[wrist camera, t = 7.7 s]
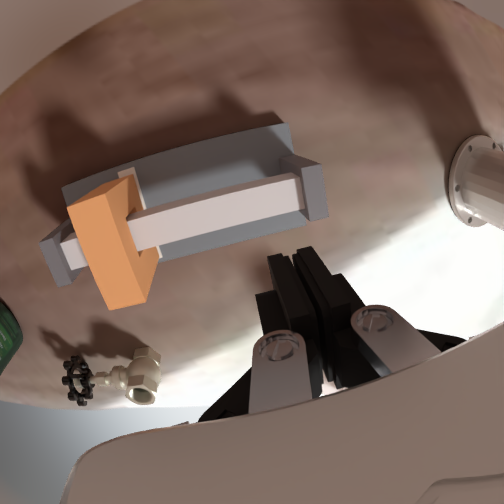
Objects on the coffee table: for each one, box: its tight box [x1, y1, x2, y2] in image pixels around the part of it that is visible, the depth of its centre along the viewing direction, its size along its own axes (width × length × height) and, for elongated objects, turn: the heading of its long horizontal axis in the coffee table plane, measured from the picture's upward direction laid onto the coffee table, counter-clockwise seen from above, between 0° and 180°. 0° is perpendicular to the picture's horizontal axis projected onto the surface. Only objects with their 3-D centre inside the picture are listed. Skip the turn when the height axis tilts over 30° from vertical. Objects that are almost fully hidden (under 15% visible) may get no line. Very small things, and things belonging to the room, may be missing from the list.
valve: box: [62, 347, 161, 406], centre depth 32 cm, size 7×7×12 cm
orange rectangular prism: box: [67, 174, 160, 310], centre depth 23 cm, size 3×8×8 cm, turn 12°
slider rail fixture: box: [39, 123, 329, 287], centre depth 25 cm, size 22×10×8 cm, turn 102°
